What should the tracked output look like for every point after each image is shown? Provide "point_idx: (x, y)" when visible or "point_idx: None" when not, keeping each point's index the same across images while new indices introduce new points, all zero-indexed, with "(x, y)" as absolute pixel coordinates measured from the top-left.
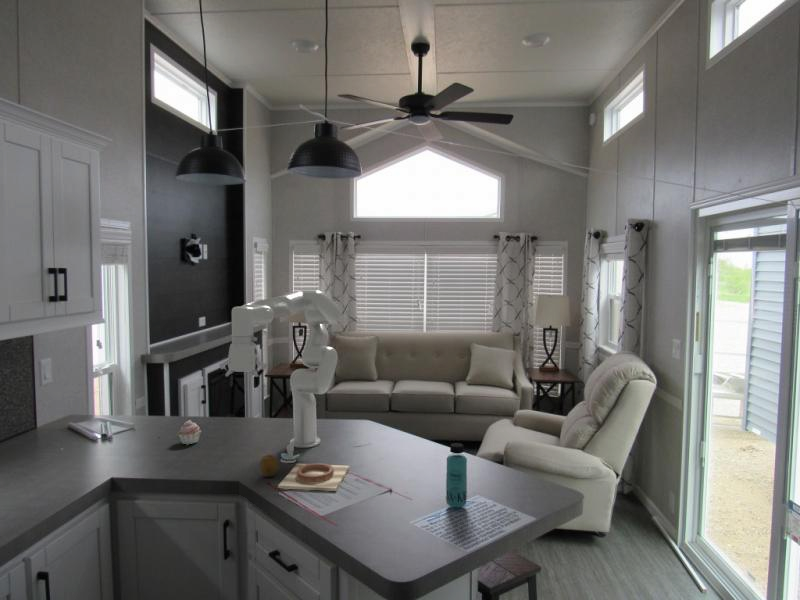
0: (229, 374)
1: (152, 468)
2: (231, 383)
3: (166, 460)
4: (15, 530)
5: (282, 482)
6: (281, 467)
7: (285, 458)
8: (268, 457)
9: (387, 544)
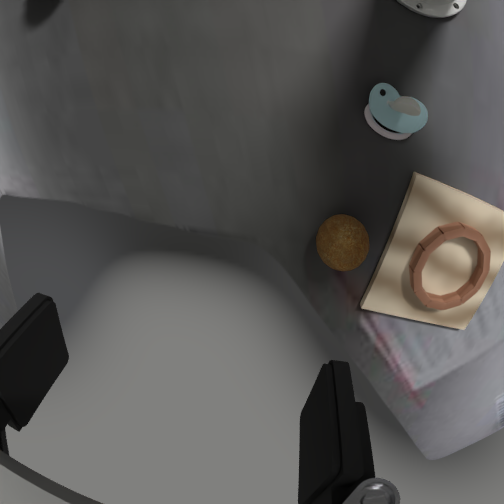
0: (4, 439)
1: (31, 145)
2: (47, 346)
3: (38, 93)
4: None
5: (372, 294)
6: (370, 166)
7: (382, 116)
8: (346, 264)
9: (452, 430)
